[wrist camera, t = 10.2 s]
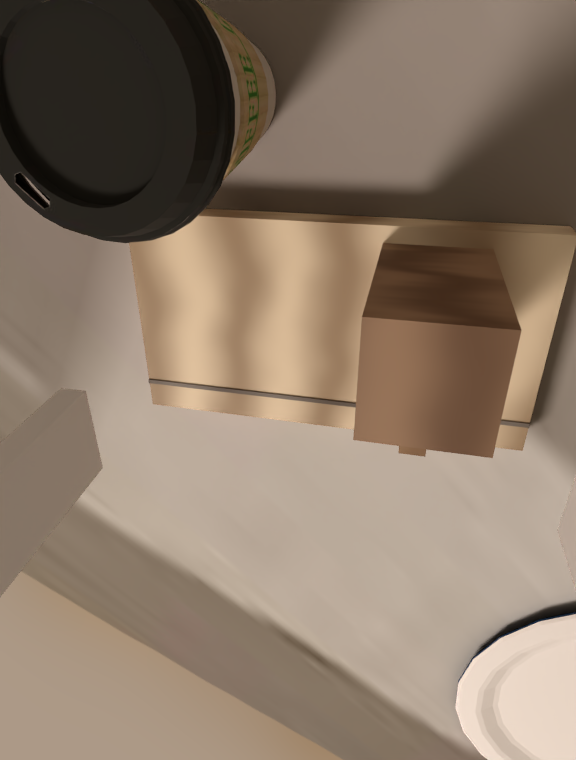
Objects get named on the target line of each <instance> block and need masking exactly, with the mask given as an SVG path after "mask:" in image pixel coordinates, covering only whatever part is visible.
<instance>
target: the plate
mask: <svg viewBox="0 0 576 760" xmlns="http://www.w3.org/2000/svg"><path fill="white" fill-rule="evenodd" d="M455 706H456V707H455V708H456V711H457V714H458V717H459V720H460V723H461V726H462V729H463V732H464V733H465V734H466V736H467V737H468V738H469V739H470V741H471V742H472V743H473V745H474V746H475V747H476V748H477V750H478V751H479V752H480V754H482V755H483V756H484V757H485V758H487V759H488V760H576V612H574V613H569V614H564V615H560V616H555V617H550V618H545V619H540V620H537V621H535V622H533V623H530V624H528V625H526V626H523V627H521V628H519V629H516V630H514V631H511V632H509V633H507V634H504V635H502V636H500V637H499V638H497V639H496V640H495V641H494V642H492V643H491V644H490V645H488V646H487V647H486V648H485V649H483V650H482V651H481V652H479V653H478V654H477V655H476V656H474V657H473V658H472V660H471V662H470V663H469V665H468V666H467V668H466V670H465V671H464V673H463V674H462V676H461V678H460V679H459V681H458V689H457V697H456V705H455Z"/></svg>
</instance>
